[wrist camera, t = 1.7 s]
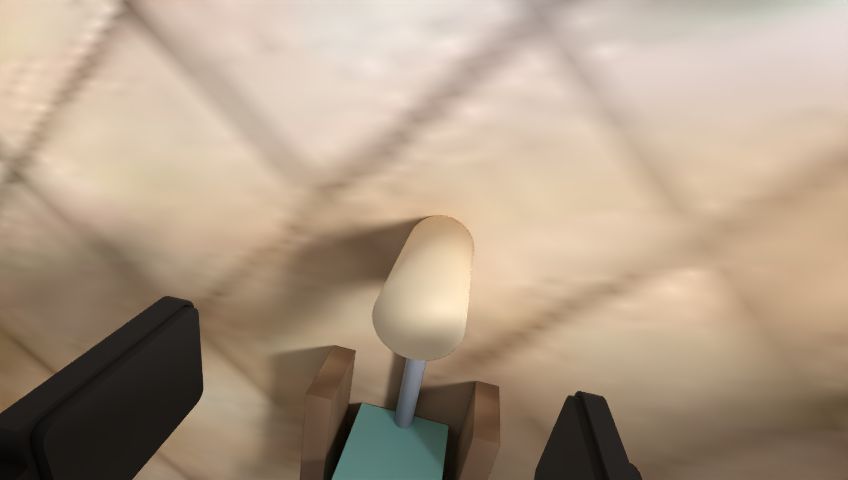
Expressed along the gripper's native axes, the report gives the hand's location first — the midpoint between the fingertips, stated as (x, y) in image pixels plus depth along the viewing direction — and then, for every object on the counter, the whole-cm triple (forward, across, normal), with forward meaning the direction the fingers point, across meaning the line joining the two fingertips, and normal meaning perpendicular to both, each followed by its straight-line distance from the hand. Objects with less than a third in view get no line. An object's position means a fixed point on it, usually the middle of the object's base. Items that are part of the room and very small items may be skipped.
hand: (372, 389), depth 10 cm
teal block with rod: (+9, -1, +7) cm, 11 cm away
